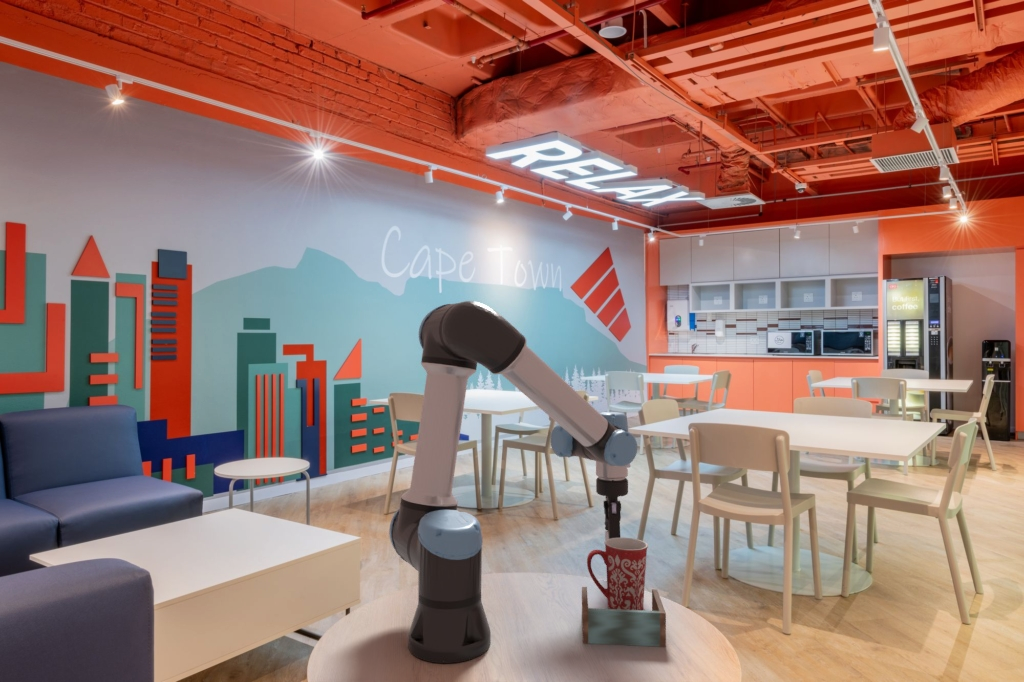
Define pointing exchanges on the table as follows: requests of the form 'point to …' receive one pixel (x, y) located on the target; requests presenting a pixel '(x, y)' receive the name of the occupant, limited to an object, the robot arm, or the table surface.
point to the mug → (623, 572)
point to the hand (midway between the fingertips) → (612, 567)
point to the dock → (624, 624)
